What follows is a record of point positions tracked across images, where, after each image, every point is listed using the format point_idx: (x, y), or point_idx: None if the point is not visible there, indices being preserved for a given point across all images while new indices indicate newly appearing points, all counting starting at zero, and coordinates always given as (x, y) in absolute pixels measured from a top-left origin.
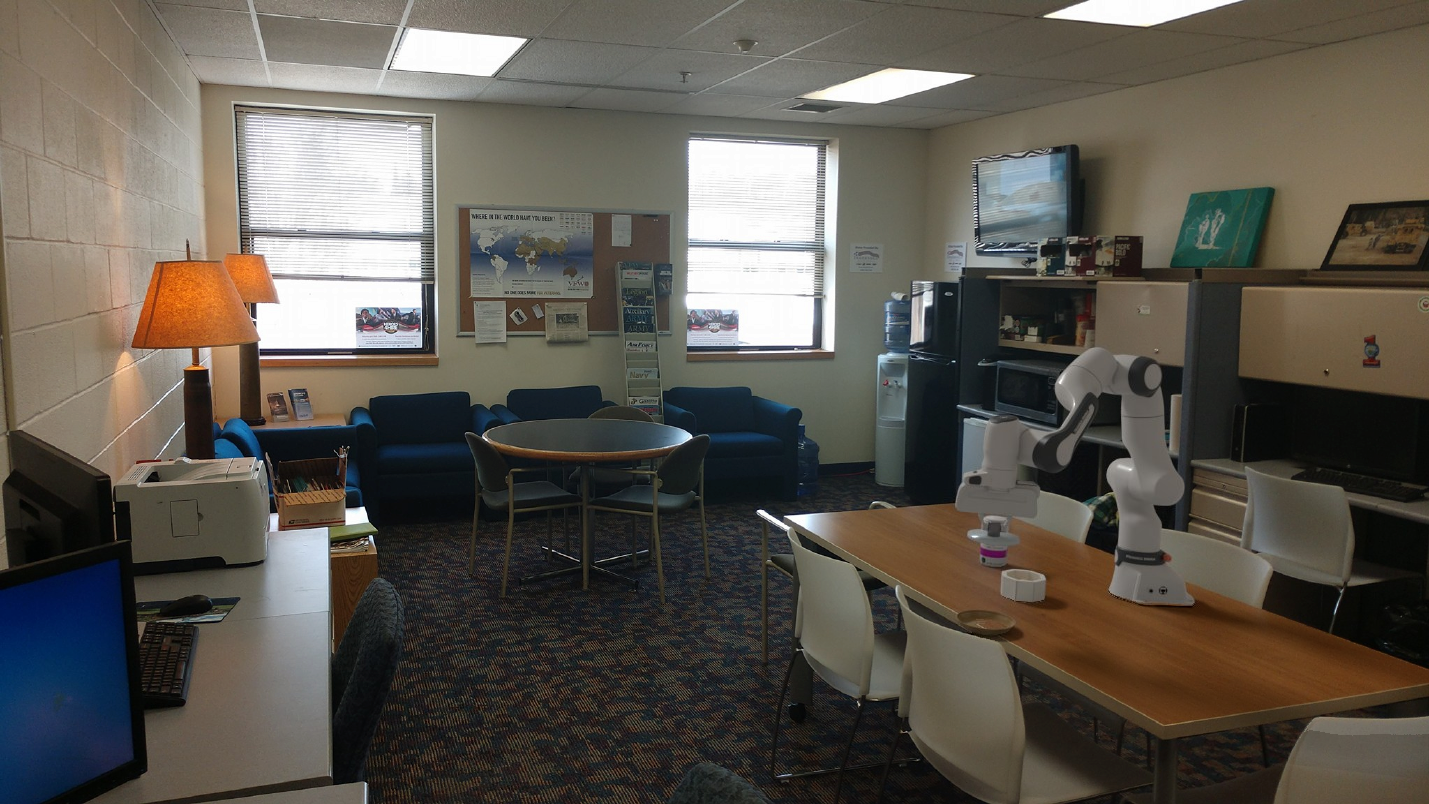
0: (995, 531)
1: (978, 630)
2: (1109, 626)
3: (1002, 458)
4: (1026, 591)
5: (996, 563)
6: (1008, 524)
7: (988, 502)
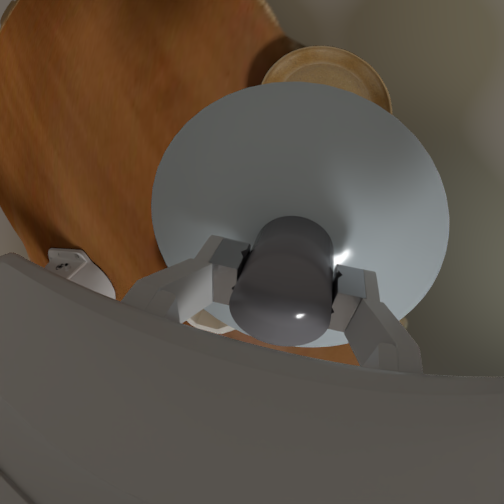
0: (289, 236)
1: (351, 59)
2: (104, 162)
3: None
4: None
5: None
6: (176, 264)
7: (354, 500)
